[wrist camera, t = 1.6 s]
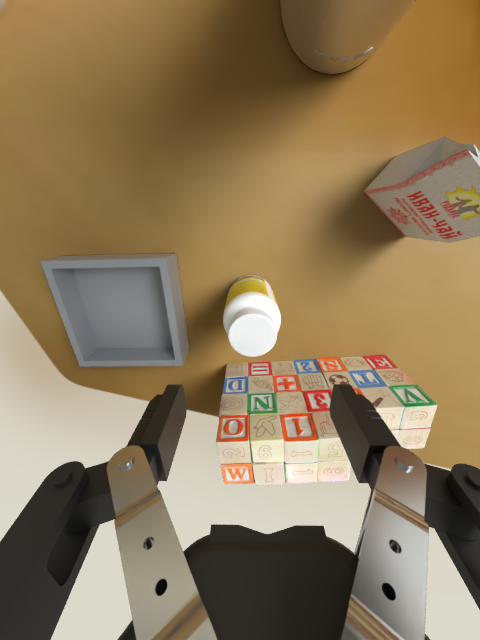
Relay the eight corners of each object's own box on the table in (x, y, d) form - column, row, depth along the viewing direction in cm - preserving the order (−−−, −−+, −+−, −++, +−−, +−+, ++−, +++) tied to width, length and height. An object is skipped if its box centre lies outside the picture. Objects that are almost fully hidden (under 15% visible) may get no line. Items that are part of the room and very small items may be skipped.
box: (65, 255, 26) (40, 261, 23) (176, 252, 26) (166, 258, 22) (96, 351, 31) (79, 366, 28) (189, 350, 31) (182, 365, 28)
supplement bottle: (218, 296, 28) (205, 334, 19) (251, 264, 26) (255, 289, 17) (249, 325, 29) (250, 374, 20) (282, 297, 28) (300, 337, 19)
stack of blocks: (386, 352, 30) (468, 432, 19) (378, 389, 33) (447, 479, 22) (225, 363, 32) (214, 444, 20) (230, 398, 34) (223, 487, 23)
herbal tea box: (395, 156, 22) (504, 112, 12) (436, 206, 23) (559, 200, 14) (363, 191, 23) (441, 175, 14) (404, 236, 24) (499, 249, 15)
